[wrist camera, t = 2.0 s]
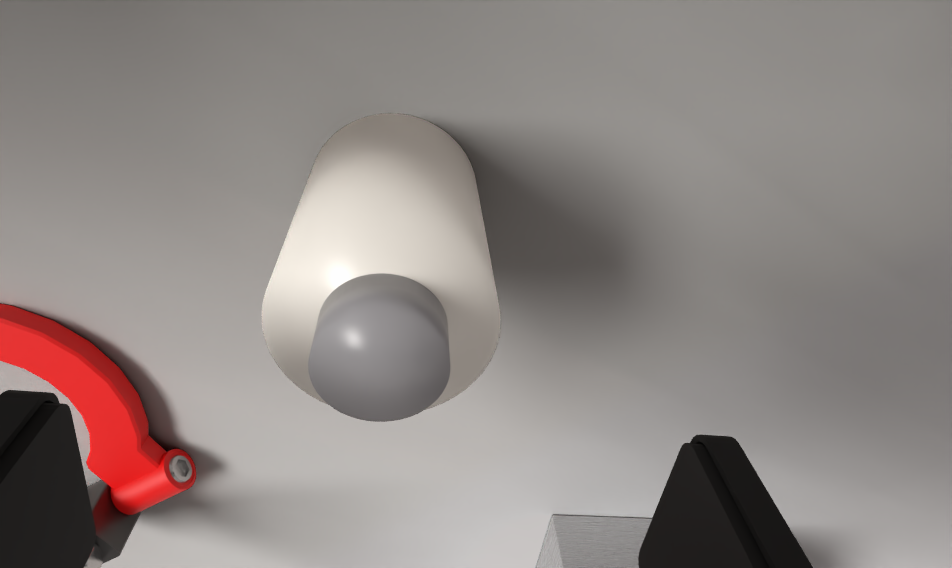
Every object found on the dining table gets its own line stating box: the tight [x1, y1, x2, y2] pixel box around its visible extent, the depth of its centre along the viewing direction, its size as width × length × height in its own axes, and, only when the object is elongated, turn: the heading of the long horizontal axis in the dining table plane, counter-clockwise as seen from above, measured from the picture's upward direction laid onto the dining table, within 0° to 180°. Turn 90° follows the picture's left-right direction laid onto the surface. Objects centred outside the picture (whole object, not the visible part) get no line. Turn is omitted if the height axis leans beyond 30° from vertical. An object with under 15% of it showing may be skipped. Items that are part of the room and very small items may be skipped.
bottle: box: [262, 113, 501, 422], centre depth 14 cm, size 4×4×7 cm
